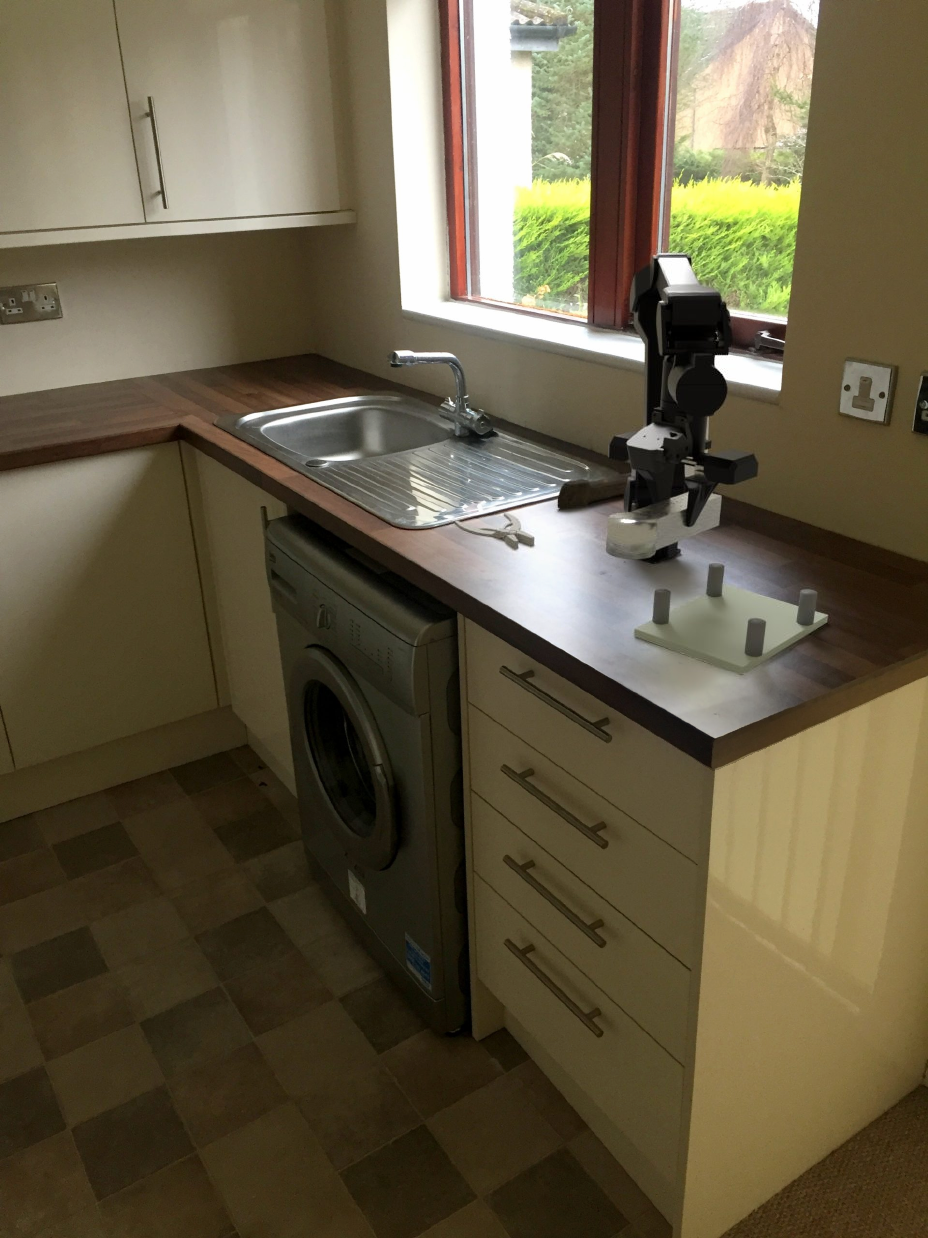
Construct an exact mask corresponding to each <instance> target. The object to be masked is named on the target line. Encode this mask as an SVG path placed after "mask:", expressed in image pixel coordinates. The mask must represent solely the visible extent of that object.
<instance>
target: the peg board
mask: <svg viewBox="0 0 928 1238" xmlns="http://www.w3.org/2000/svg"><path fill="white" fill-rule="evenodd" d="M707 569H708V571H707V579H706V592H705V593H703V594H700V595H699V596H697V597H695V598H693V599H691V600H689V601H687V602H685V603H683V604H681V605H678V606H677V607H674V609H671V595H672V591H671V590H670V589H668V588H664V587H663V588H661V587H660V588H656V589H654V592H653V606H652V608H653V609H652V617H651V618H652V619H651V620H649V621H647V622H645V623H643V624H641V625H639V626H637V627H635V628H634V633H633V634H634V635H633V636H634V637H636V638H639V639H640V640H641V639H642V640H644V641H647V642H650V643H652V644H655V645H658V646H660V647H663V648H666V649H669V650H671V651H674V650H675V652H677V653H680V654H682V653H683V655H686V656H688V657H691V658H694V659H697V660H698V661H702V662H704V663H707V664H710V665H713V666H715V667H718V668H721V669H724V670H727V671H729V672H733V673H735V674H738V675H741V676H742V675H744V674H746V673H747V672H749V671H750V670H752V669H753V668H756V667H757V666H758V665H760V664H762V663H763V662H765V661H766V660H767V661H768V659H770V658H772V657H773V656H775V655H776V654H779V653H780V652H781V651H783V650H785V649H786V648H788V647H790V646H792V644H794V643H796V642H797V641H799V640H801V639H802V638H804V637H806V636H807V635H809V634H810V633H812V632H814V631H815V630H817V629H818V628H820V627H821V626H824V625H825V624H826V623H828V620H829V619H828V618H829V615H828V614H826V613H822V612H819V611H816V607H817V602H818V601H817V599H818V592H817V590H814V589H808V588H806V589H801V590H800V592H799V600H798V605H795V604H793V603H789V602H786V601H782V600H779V599H776V598H772V597H769V596H766V595H762V594H759V593H755V592H753V591H749V590H745V589H742V588H739V587H736V586H733V585H729V584H725V583H724V577H725V575H724V574H725V564H723V563H720V562H719V563H718V562H713V563H708V568H707ZM670 609H671V610H670Z"/></svg>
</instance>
